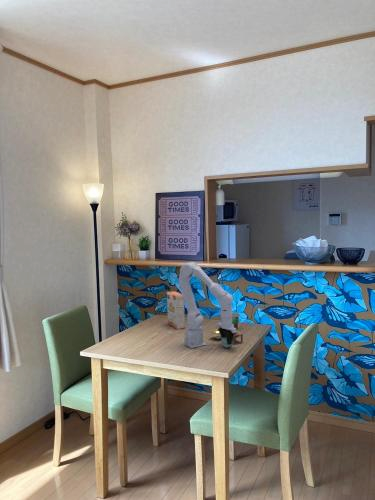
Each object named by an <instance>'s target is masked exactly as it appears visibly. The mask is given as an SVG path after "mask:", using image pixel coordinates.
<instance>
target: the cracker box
mask: <svg viewBox="0 0 375 500" xmlns="http://www.w3.org/2000/svg"><path fill="white" fill-rule="evenodd" d="M166 303H167V304H166V305H167V306H166V307H167V324H168V325H169V326H171V327H173V328H174V329H176V330H180V329H185V328H186V321H185V320H186V319H185V318H186V317H185V301H184V297H183V294H182V293H180V292H178V291H173V290H172V291H167V292H166Z"/></svg>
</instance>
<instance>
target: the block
mask: <svg viewBox="0 0 375 500" xmlns="http://www.w3.org/2000/svg"><path fill="white" fill-rule="evenodd" d="M221 346H222V347H225V348H230V347H233V345H232V344H229V345H228V344H227V338H226V337H224V338H222V339H221Z"/></svg>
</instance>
